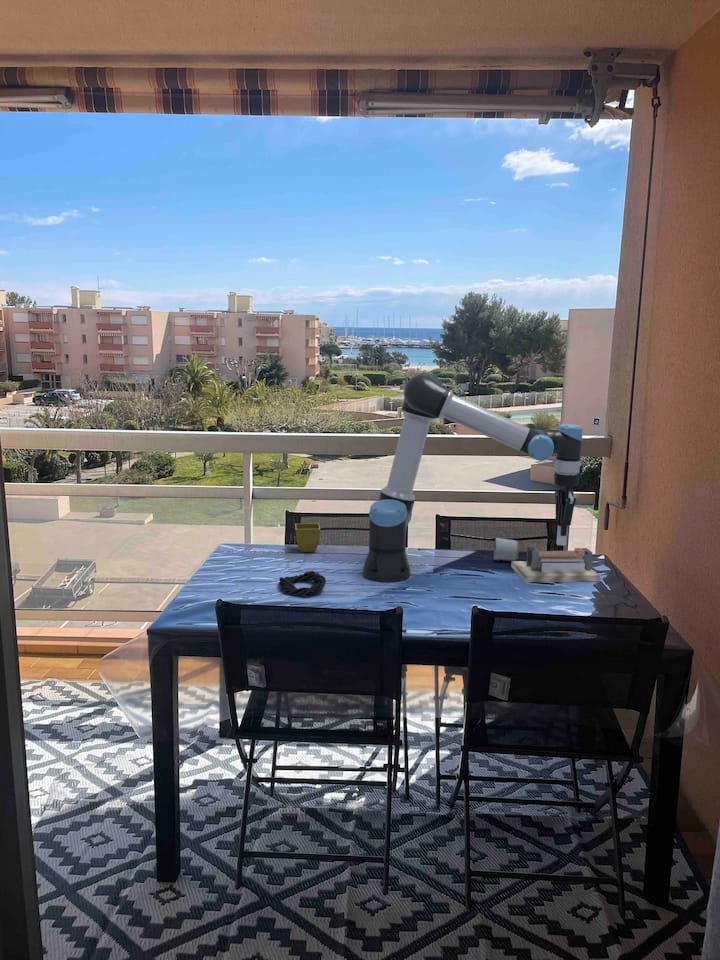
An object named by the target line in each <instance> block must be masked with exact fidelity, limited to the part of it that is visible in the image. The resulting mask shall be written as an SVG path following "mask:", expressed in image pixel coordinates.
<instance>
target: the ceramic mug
mask: <svg viewBox="0 0 720 960" xmlns="http://www.w3.org/2000/svg"><path fill="white" fill-rule="evenodd" d="M493 546H494V548H493V560H494V561H501V560H502V561H504V562H505V561H506V562H512V561H518V559H519V553H520V543H519V542H518V541H517V540H514V539H509V538H500V537H495V540H494V544H493Z"/></svg>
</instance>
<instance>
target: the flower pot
mask: <svg viewBox="0 0 720 960" xmlns="http://www.w3.org/2000/svg"><path fill="white" fill-rule="evenodd" d="M294 531H295V538H296V545H297V547H298V550H299V551H300V552H301V553H315V552H316V551H317V549H318V546H319V544H320V543H319V542H320V536H321V525H320V523H319V522H318V523H316V522H315V523H309V522H308V523H295V524H294Z"/></svg>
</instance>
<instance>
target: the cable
mask: <svg viewBox="0 0 720 960" xmlns="http://www.w3.org/2000/svg"><path fill="white" fill-rule="evenodd" d="M326 579H327V578H326V577H325V576H324V575H322V574H320V573H319V572H316V571H314V570H310V571H306V572H303V574H302V573H299V574H297V575H295V576H294V575H293V576H285V577H282V576H281V577H279V582H278V586H279V589H280V591H281V592H285V593H286V594H287V595H288V594H289V595H292V596H296V597H300V598H303V597H304V596H305V597H311V596H312V597H313V596H316V595H317V594H319V593H320V592H321V591H322V590H323V589H324V587H325V585H326V582H327V580H326ZM310 581H312V582H313V584H312V586H310V587H308V586H306V587H300V588H297V587H296V585H295V584H294V583H299V582H310Z"/></svg>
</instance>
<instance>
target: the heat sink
mask: <svg viewBox="0 0 720 960" xmlns="http://www.w3.org/2000/svg"><path fill="white" fill-rule="evenodd" d="M581 549H583V550H584V551H585V553H584V556H574V557H539V550H535V546H532V545H531V546H527V548H526V560H525V561H526V566H531V571H538V570H539V571H540V572H541V573H584V571H585V570H591V569H592V563H593V552H592V551H591V550H590V549H589V548H587V547H586V548H585V547H583V548H582V547H581ZM531 551H532V555H531V554H530V552H531Z"/></svg>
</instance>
